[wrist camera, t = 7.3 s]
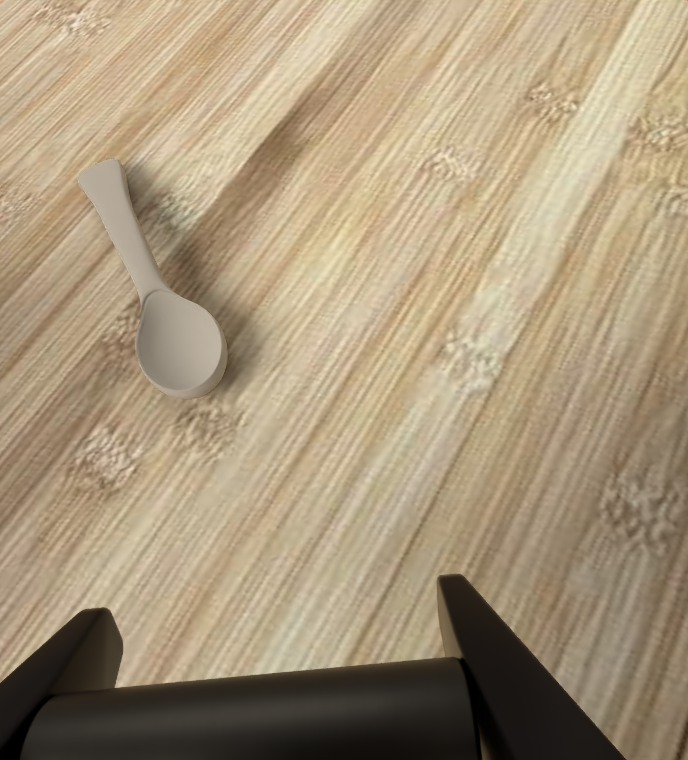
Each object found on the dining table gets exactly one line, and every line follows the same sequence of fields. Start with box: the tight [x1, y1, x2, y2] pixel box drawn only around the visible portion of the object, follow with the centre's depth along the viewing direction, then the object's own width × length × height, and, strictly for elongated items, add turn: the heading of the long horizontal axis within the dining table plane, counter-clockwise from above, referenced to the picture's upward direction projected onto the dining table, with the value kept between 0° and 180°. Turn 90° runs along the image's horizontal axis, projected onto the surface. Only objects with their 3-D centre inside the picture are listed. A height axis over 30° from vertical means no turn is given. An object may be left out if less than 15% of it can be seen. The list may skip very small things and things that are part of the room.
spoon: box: [77, 158, 228, 399], centre depth 18 cm, size 3×12×2 cm, turn 29°
